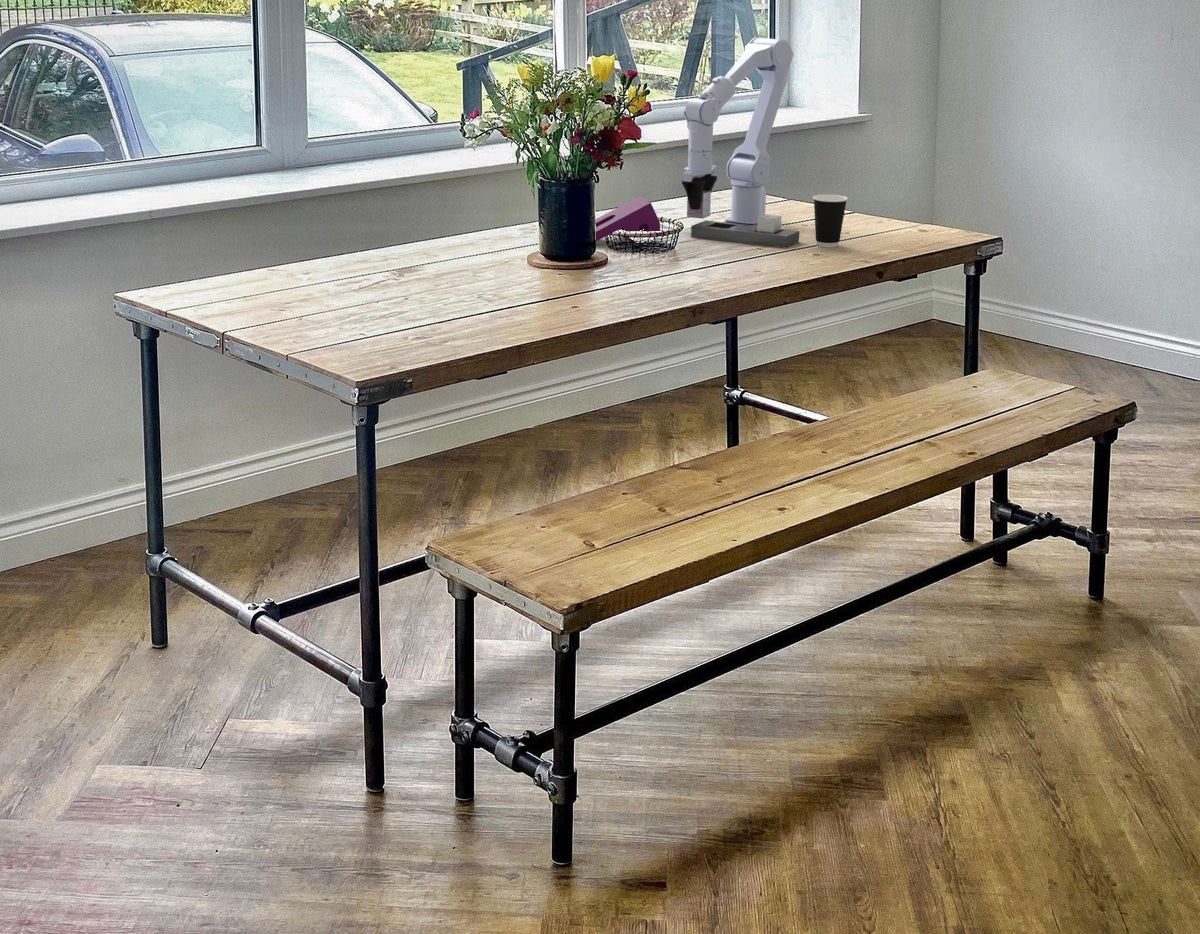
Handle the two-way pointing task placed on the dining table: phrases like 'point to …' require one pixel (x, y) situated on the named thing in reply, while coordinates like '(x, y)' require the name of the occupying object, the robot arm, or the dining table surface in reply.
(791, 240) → the rail
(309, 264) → the dining table surface
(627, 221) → the mounting bracket
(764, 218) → the off-white rectangular block
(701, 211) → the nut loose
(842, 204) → the dixie cup
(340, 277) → the dining table surface
